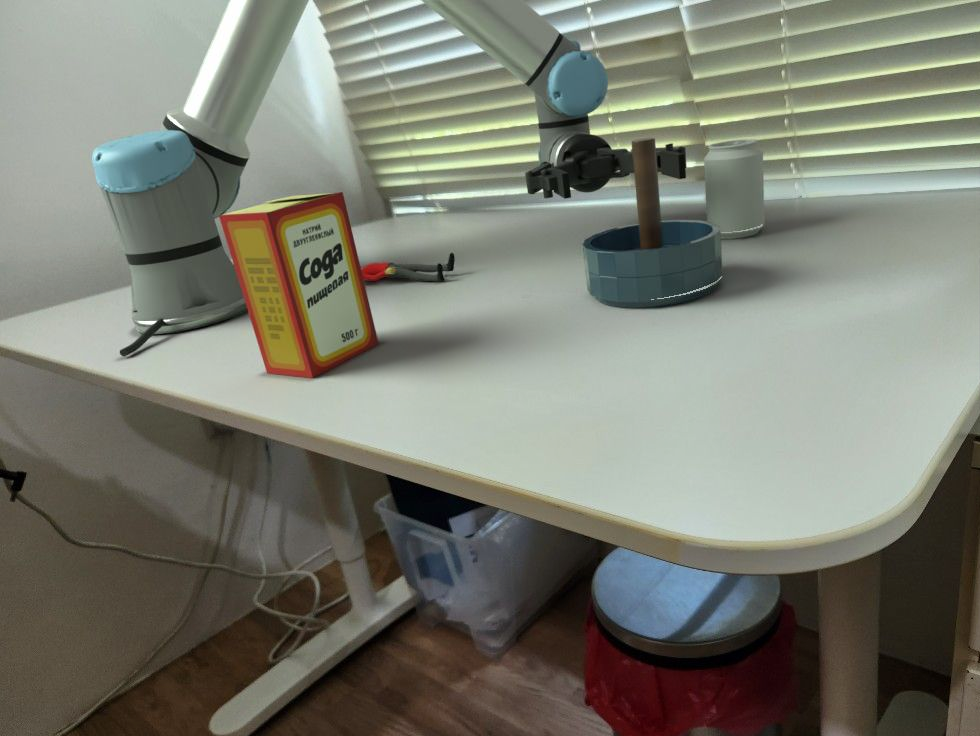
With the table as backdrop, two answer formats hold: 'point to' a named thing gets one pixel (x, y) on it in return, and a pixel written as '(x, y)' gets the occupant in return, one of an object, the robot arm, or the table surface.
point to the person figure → (407, 270)
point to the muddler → (647, 193)
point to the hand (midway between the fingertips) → (625, 176)
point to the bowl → (653, 264)
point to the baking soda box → (301, 282)
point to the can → (735, 187)
